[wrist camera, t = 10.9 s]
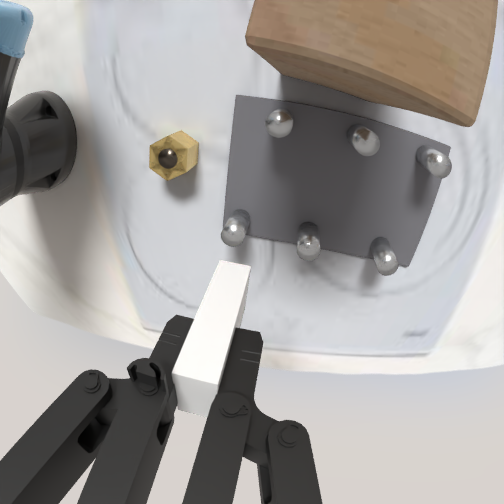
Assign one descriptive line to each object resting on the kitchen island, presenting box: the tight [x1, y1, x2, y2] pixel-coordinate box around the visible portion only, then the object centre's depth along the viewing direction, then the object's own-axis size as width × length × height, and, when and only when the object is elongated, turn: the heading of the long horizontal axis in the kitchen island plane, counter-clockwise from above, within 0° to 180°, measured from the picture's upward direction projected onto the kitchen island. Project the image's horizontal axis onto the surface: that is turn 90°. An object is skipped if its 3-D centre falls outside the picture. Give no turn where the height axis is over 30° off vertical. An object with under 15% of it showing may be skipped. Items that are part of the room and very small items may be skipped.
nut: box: [149, 130, 199, 181], centre depth 30 cm, size 5×4×4 cm
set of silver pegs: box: [221, 109, 452, 276], centre depth 29 cm, size 21×14×4 cm
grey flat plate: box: [223, 95, 451, 266], centre depth 31 cm, size 24×16×1 cm, turn 83°
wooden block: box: [245, 0, 498, 127], centre depth 14 cm, size 10×10×20 cm
